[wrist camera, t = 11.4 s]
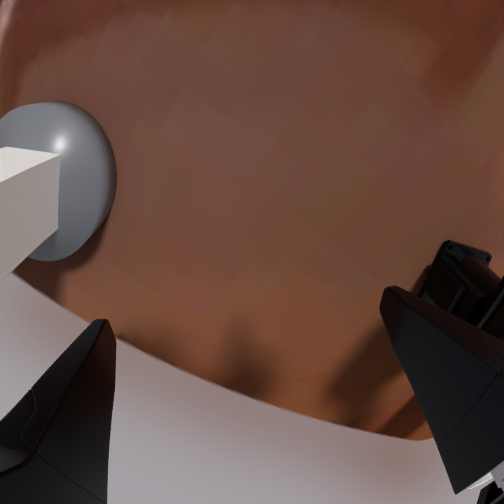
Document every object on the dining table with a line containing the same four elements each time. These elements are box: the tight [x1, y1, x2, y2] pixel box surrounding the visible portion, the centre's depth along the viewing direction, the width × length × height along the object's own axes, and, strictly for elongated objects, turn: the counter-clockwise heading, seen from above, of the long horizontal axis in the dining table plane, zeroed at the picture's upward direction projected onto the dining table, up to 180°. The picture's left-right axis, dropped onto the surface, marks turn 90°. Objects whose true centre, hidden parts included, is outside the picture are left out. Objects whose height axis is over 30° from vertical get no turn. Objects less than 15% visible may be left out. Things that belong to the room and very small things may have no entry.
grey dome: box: [0, 101, 117, 261], centre depth 18 cm, size 11×11×3 cm
